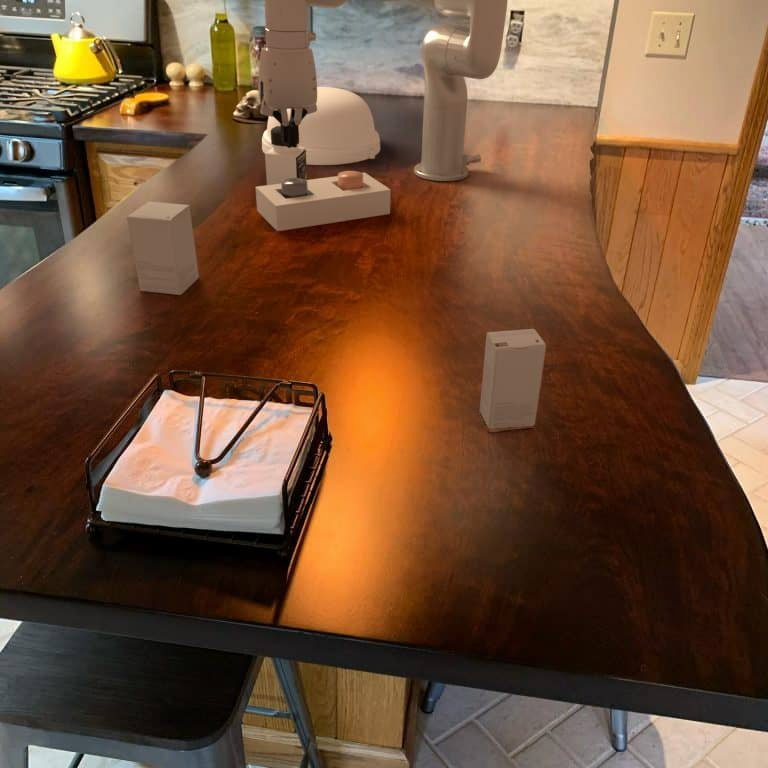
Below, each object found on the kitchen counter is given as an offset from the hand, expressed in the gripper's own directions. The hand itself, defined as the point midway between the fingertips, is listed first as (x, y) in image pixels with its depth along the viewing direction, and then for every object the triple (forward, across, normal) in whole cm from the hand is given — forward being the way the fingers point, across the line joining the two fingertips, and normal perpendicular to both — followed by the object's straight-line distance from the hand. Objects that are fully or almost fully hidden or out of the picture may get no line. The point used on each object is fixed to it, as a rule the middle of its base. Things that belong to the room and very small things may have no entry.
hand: (289, 145), depth 145 cm
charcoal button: (+11, -1, 0) cm, 11 cm away
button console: (+14, -7, 0) cm, 16 cm away
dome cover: (+14, -25, -44) cm, 52 cm away
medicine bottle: (+14, -7, -21) cm, 26 cm away
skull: (+13, -18, -78) cm, 82 cm away
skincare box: (+15, +1, +77) cm, 78 cm away
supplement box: (+15, +29, +21) cm, 39 cm away
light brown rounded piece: (+11, -13, 0) cm, 17 cm away
